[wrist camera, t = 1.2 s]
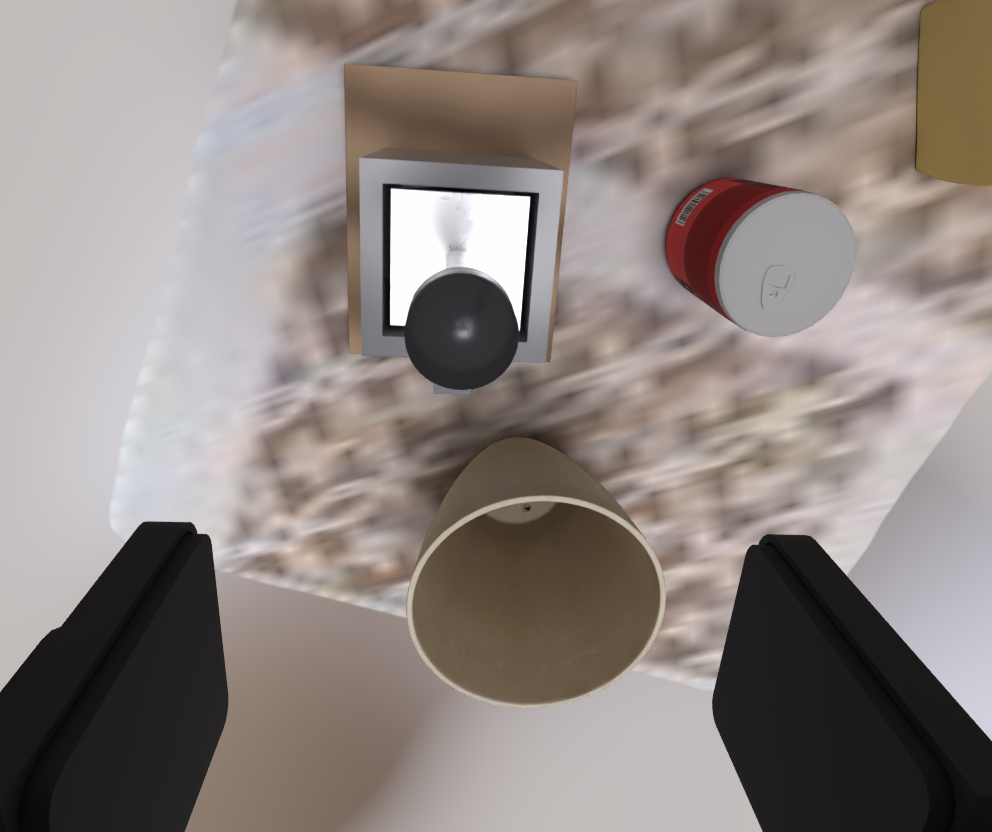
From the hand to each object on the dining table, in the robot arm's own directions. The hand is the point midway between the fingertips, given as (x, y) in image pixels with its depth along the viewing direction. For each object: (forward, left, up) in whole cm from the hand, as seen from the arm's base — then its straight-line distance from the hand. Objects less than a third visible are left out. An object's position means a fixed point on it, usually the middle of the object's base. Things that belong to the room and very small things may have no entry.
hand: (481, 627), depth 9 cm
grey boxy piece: (+1, 0, -39) cm, 39 cm away
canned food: (0, +18, -41) cm, 45 cm away
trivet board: (0, 0, -41) cm, 41 cm away
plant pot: (+19, +5, -41) cm, 46 cm away
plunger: (0, 0, -27) cm, 27 cm away
